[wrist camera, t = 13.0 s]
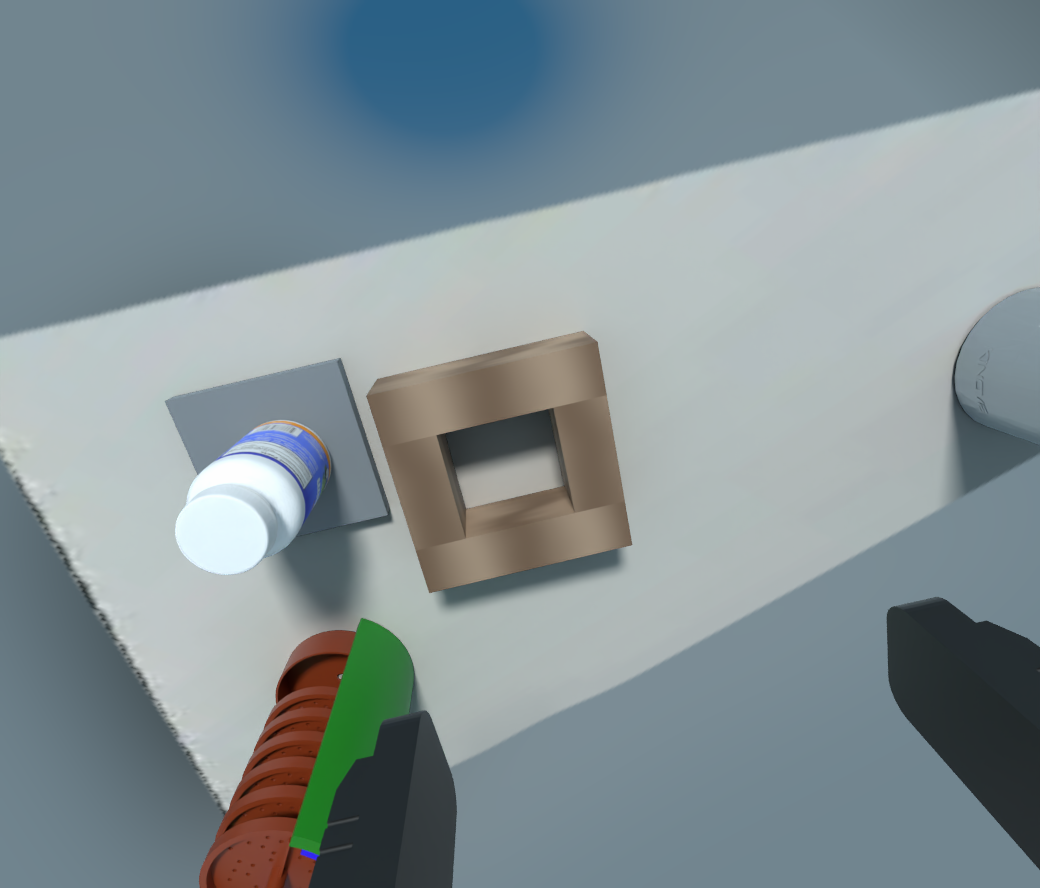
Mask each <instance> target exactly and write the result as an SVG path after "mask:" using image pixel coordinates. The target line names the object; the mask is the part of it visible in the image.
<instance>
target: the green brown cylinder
mask: <svg viewBox="0 0 1040 888" xmlns="http://www.w3.org/2000/svg"><path fill="white" fill-rule="evenodd" d="M338 674H343V675H342V678H341V679H339V678H338V676H337V675H338ZM413 682H414V669H413V664H412V661H411V658H410V656H409V653H408V652H407V650H406V648H405V647H404V645H403V644H402V643H401V642H400V640H399V639H398V638H397V637H396V636H395V635H393V634H392V633H391V632H390V631H388V630H387V629H385V628H384V627H382V626H380V625H378V624H376V623H374V622H372V621H369V620H367V619H363V618H361V620H360V623H359V625H358V628H357V631H356V632H352V631H344V630H335V631H327V632H322V633H319V634H316V635H314V636H311V637H310V638H308V639H306V640H305V641H303V642H302V643H301V644H299V645H298V646H297V647H296V649H295V650H294V651H293V652H292V654H291V656H290V658H289V660H288V662H287V664H286V666H285V669H284V671H283V673H282V675H281V677H280V680H279V682H278V685H277V688H276V705H275V706H274V708H273V709H272V711H271V713H270V715H269V717H268V719H267V722H266V724H265V727H264V730H263V732H262V733H261V735H260V737H259V740H258V742H257V744H256V746H255V749H254V752H253V755H252V756H251V758H250V760H249V762H248V764H247V767H246V769H245V771H244V774H243V777H242V780H241V782H240V783H239V785H238V787H237V789H236V791H235V794H234V796H233V798H232V800H231V803H230V807H229V810H228V811H227V813H226V814H225V816H224V818H223V821H222V823H221V825H220V827H219V830H218V832H217V835H216V839H215V842H214V844H213V845H212V847H211V848H210V850H209V852H208V854H207V857H206V859H205V861H204V863H203V866H202V868H201V871H200V876H199V884H200V888H308V887H309V883H310V880H311V876H312V873H313V869H314V866H315V862H316V859H317V857H318V856H319V855H320V851H319V848H320V845H321V841H322V838H323V834H324V831H325V829H326V828H327V827H328V824H327V820H328V817H329V813H330V810H331V806H332V803H333V799H334V796H335V792H336V789H337V788H338V786H339V785H340V783H341V782H342V780H343V779H344V777H345V776H346V774H347V773H348V771H349V769H350V768H351V766H352V765H353V763H354V762H355V760H356V759H361V758H365V757H370V756H373V754H374V750H375V746H376V741H377V737H378V733H379V729H380V725H381V723H382V722H383V720H385V719H389V718H394V717H398V716H403V715H407V714H409V710H410V703H411V696H412V689H413Z"/></svg>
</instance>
